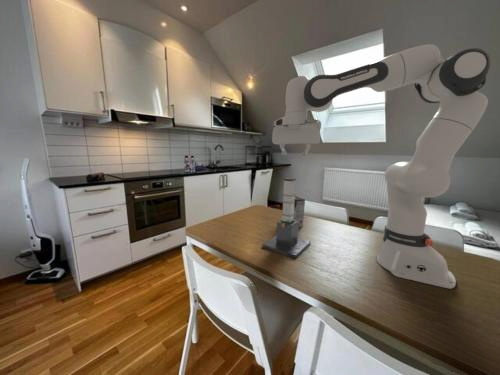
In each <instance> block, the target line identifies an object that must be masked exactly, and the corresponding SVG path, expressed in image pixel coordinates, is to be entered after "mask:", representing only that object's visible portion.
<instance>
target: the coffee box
mask: <svg viewBox="0 0 500 375" xmlns="http://www.w3.org/2000/svg"><path fill="white" fill-rule="evenodd" d="M294 201H295V202H294V219H293V220H295V221H299V222H298V228H302V227H304V217H305V202H306V199H305V198H302V197H299V196H296V195H295V200H294Z"/></svg>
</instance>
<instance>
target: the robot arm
mask: <svg viewBox="0 0 500 375" xmlns="http://www.w3.org/2000/svg"><path fill="white" fill-rule="evenodd" d="M490 66H491V59H490V55H489V54H488V52H486V50H483V49H481V48H478V47H477V48H474V47H473V48H467V49H464V50H463V49H462V50H461V51H459V52H455V53H454V54H452V55H451V56H448V58H447V59H444V58H443V57H442V54H441V51H440V49H439V47H438V46H437V45H435V44H434V43H433V44H432V43H431V44H430V43H428V44H423V45H418V46H415V47H410V48H407V49H405V50H404V49H403V50H401V51H399V52H395V53H392V54H390V55H387V56H385V57H383V58H381V59H378V60H376V61H374V62H371V63H369V64H366V65H362V66H359V67H355V68H352V69H350V70H346V71H344V72H341V73H336V74H318V75H316V76H313V77H312V78H308V77H307V76H306V75H305V76H304V75H299V76H298V75H297V76H295V77H293V78H291V79H290V80H289V81H288V83H287V86H286V91H285V100H284V101H285V106H286V107H285V112H284V116H283V117H280V118H277V119H275V121H274V120H273V121H274V122H273V126H274V127H273V130H272V134H271V135H272V136H271V142H272V144H273V145H279V148H280V150H281V155H282V156H287V155H288V151H287V150H286V149H285V147H286V145H305V147H306V148H305V150H303V151H302V155H303V156H308V155H309V151H310V149H311V147H312V144H313V145H314V144H317V145H318V144H320V142H321V129H322V122H321V121H320V120H319V119H317V118H315V119H314V118H313V119H308V112H309V111H310V112H316V113H320V112H324V111H326V110H328V109H329V108H330V107H331V105H332V104H333V100H334V99H335V98H336V97H338V96H340V95H343V94H346V93H350V92H353V91H356V90H360V89H363V88H365V89H366V88H370V89H372V90H373V91H374V92H377V93H381V92H388V91H393V90H396V89H400V88H402V87H405V86H408V85H411V84H414V88H415V90H416V91H417V94H418V96H419V98H420V99H421V100H422V101H423V102H424V103H427V104H438V103H439V107H438V109H437V111H436V112H435V115H434V116H433V117H432V119H431V120H430V121H429V122H428V123H427V125H426V127H425V129H424V130H423V131H422V133H421V134H420V136H418V138H417V139H416V142H415V144H416V147H415V148H416V149H415V152H414V154H413V156H412V158H411V160H410V161H399V162H395V163H393V164H391V165H389V166H388V167H387V168H386V170H385V171H384V180H385V182H386V186H387V188H386V190H387V199H388V200H387V201H388V210H387V211H388V212H387V217H386V218H387V219H386V225H385V226H384V229H383V236H382V240H383V241H382V244H381V248H380V252H379V254H378V255H377V258H376V262H377V263H378V264H379V265H380V266H381V267H383V268H384V269H386V270H387V271H389V272H390V273H391V274H392V275H394V276H395V277H397V278H400V279H401V278H402V279H405V280H409V281H410V280H411V281H415V282H419V283H422V284H423V283H424V284H428V285H430V286H431V285H432V286H436V287H440V288H445V289H451V290H452V289H454V288H455V287H456V284H457V283H456V280H457V279H456V277H455V276H454V274H453V273H452V272H451V270H449V269H448V263H447V260H446V259H445V258H444V256H443V255H442V254H440V253H439V252H438V251H437V250H436V249H435V248H433V245H434V241H433V240H432V238H431V237H430V236H429V234H428V233H425V227H426V221H427V216H428V215H427V214H428V213H427V209H426V207H425V205H424V201H423V198H436V197H439V196H441V195H443V194H445V193H446V192H447V191H448V189H449V188H450V186H451V176H450V174H449V172H450V167H451V165H452V162H453V159H454V157H455V155H456V154H457V152H458V151H459V149H460V148H461V147H462V145H463V144H464V143H465V141H467V139H468V137H469V136H470V135H471V134H472V132H473V131H474V129H476V127H477V125H478V123H479V122H480V120H481V119H482V117H483V116H484V113H485V111H486V109H487V107H488V104H489V99H488V96H486V95H485V94H483V93H482V92H479V90H481V88H483V87H484V86H485V84H486V83H487V82H486V81H487V79H486V78H487V75H488V74H489V73H488V72H489V69H490Z"/></svg>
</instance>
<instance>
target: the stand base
mask: <svg viewBox="0 0 500 375" xmlns="http://www.w3.org/2000/svg"><path fill="white" fill-rule="evenodd" d="M298 222H299V221H295V220H294V222H293V223H292V224H286V223H282V219H280V220H278V221H277V222H276V235H274V236H273V237H271V238H269V239H268V240H266V241H265V242H263V243H262V244H261V245H262V246H261V247H262V248H263V249H267V250H269V251H272V252H276V253H278V254H280V255H283V256H287V257H289V258H292V259H295V260H296V259H297V258H298V257H300V255H301V254H302V253H303V252H304V251H306V249H307V248H309V247H310V245H311V241H310V240H308V239H303V238H299V236H298V234H299V227H298Z"/></svg>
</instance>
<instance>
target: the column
mask: <svg viewBox="0 0 500 375" xmlns="http://www.w3.org/2000/svg"><path fill="white" fill-rule="evenodd" d="M296 182H297V180H296V178H292V177H286V178H283V194H282V197H283V199H282V214H281V216H282V217H281V218H282V219H281V220H282V223H286V224H292V223H293V222H294V220H293V219H294V202H295V201H294V200H295V196H296Z"/></svg>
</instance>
